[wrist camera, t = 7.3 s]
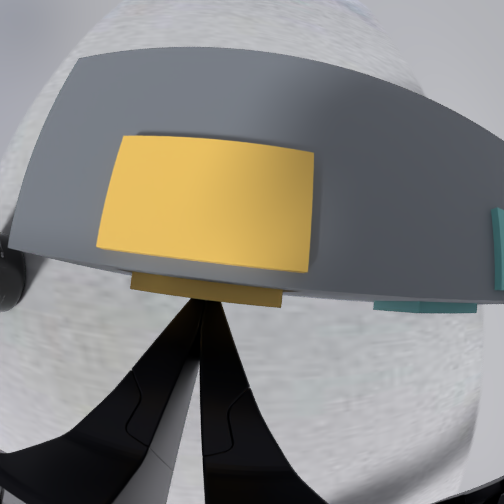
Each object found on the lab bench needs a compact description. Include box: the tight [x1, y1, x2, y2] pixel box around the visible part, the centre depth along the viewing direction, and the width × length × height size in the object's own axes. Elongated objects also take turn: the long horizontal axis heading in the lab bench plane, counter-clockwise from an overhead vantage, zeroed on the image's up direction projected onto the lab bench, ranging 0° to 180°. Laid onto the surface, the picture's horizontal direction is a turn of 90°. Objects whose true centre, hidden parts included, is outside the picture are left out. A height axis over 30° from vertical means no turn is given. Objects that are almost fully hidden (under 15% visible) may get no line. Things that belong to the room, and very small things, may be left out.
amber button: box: [130, 271, 283, 308], centre depth 9 cm, size 4×4×4 cm
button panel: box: [8, 47, 504, 304], centre depth 12 cm, size 6×20×14 cm, turn 84°
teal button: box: [373, 301, 477, 313], centre depth 12 cm, size 4×4×4 cm
